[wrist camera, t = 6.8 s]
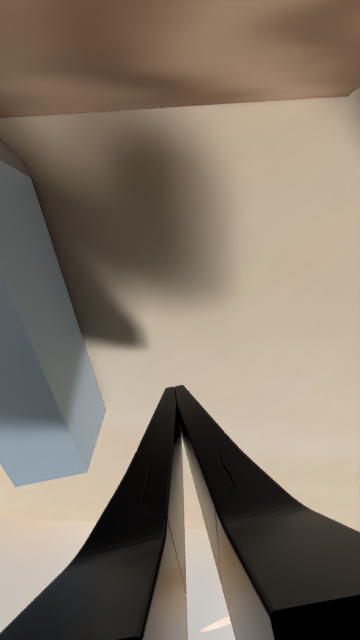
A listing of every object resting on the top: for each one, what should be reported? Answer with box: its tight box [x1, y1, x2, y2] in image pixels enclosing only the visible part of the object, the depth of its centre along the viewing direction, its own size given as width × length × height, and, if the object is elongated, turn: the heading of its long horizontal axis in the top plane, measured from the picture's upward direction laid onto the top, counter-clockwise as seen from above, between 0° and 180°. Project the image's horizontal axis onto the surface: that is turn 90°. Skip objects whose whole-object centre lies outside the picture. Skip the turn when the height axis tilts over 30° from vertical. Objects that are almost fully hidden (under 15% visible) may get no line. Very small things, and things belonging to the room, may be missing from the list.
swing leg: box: [0, 140, 106, 487], centre depth 8 cm, size 14×3×4 cm, turn 6°
